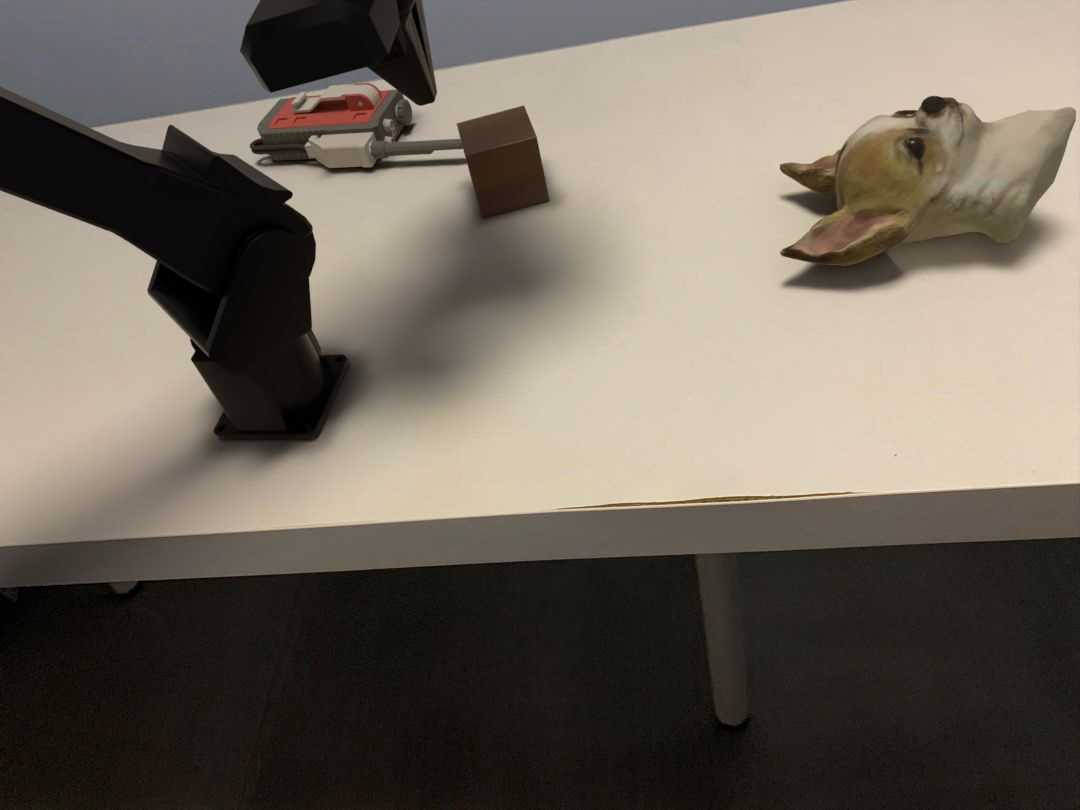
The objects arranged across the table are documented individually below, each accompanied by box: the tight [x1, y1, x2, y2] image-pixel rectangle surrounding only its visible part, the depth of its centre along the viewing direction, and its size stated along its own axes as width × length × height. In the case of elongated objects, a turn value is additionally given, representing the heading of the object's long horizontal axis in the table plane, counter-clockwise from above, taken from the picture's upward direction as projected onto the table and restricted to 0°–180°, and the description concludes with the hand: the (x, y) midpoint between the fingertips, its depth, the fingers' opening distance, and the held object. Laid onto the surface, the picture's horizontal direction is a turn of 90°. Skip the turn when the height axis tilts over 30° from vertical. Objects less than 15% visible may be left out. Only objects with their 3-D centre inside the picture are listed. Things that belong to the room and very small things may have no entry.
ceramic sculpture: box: [779, 95, 1077, 267], centre depth 48 cm, size 11×9×15 cm
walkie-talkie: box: [249, 82, 463, 169], centre depth 70 cm, size 9×4×20 cm
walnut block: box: [456, 105, 550, 219], centre depth 60 cm, size 5×5×5 cm
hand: (428, 100), depth 47 cm, fingers closed
